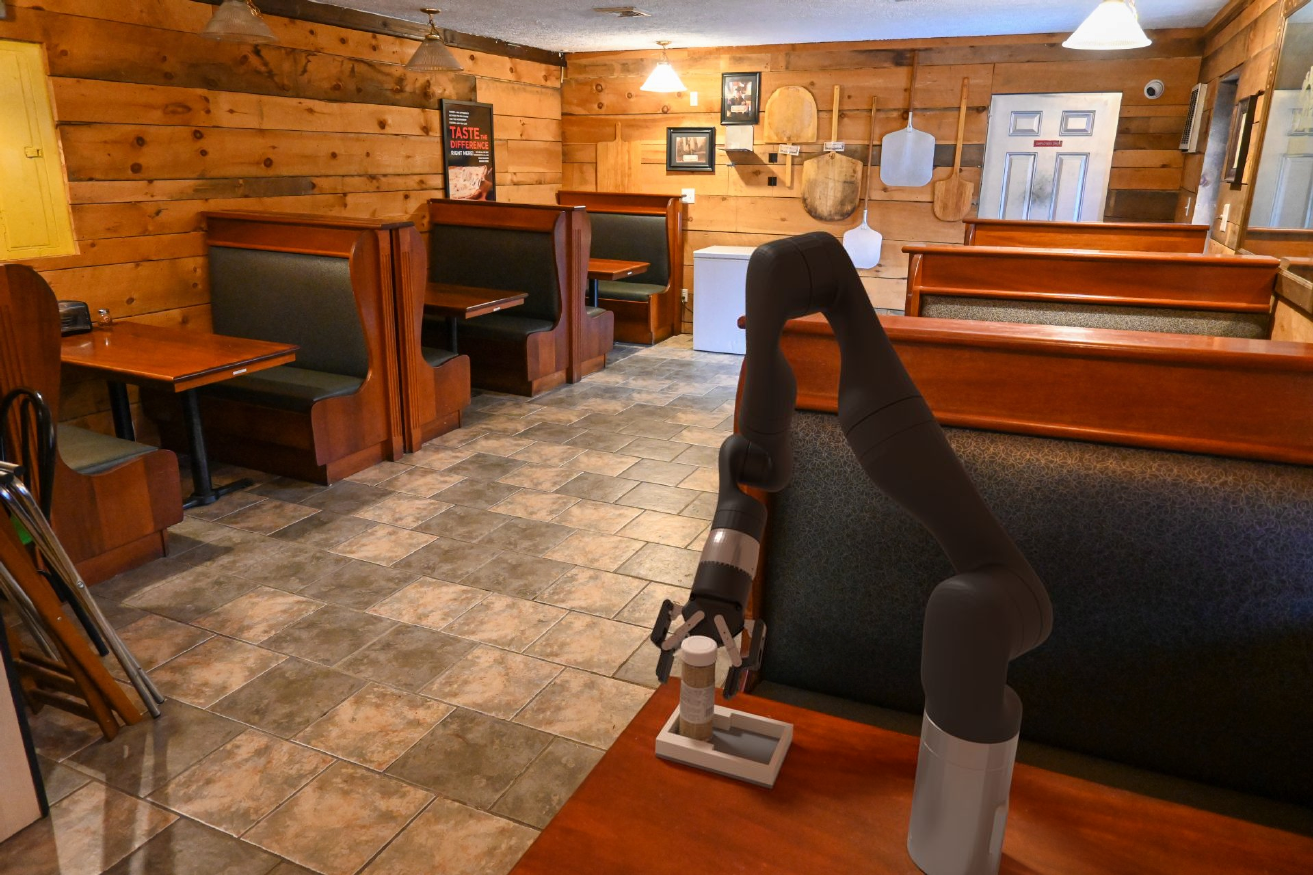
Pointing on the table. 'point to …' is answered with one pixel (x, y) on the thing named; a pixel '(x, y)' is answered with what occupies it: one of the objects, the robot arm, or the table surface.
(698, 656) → the sprinkles bottle
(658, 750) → the shallow tray
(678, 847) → the table surface
